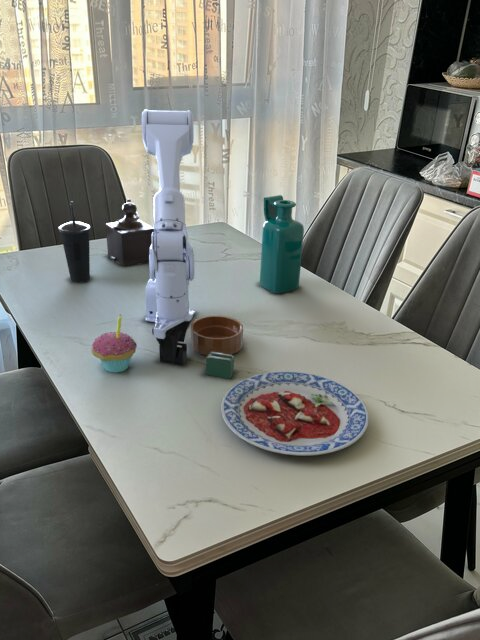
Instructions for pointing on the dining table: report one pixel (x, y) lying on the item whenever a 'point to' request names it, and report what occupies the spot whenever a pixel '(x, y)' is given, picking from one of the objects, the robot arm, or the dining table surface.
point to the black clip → (177, 354)
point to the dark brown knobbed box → (129, 238)
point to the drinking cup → (76, 248)
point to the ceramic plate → (294, 413)
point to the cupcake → (114, 349)
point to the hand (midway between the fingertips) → (173, 354)
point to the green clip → (220, 365)
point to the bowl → (216, 335)
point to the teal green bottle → (280, 246)
